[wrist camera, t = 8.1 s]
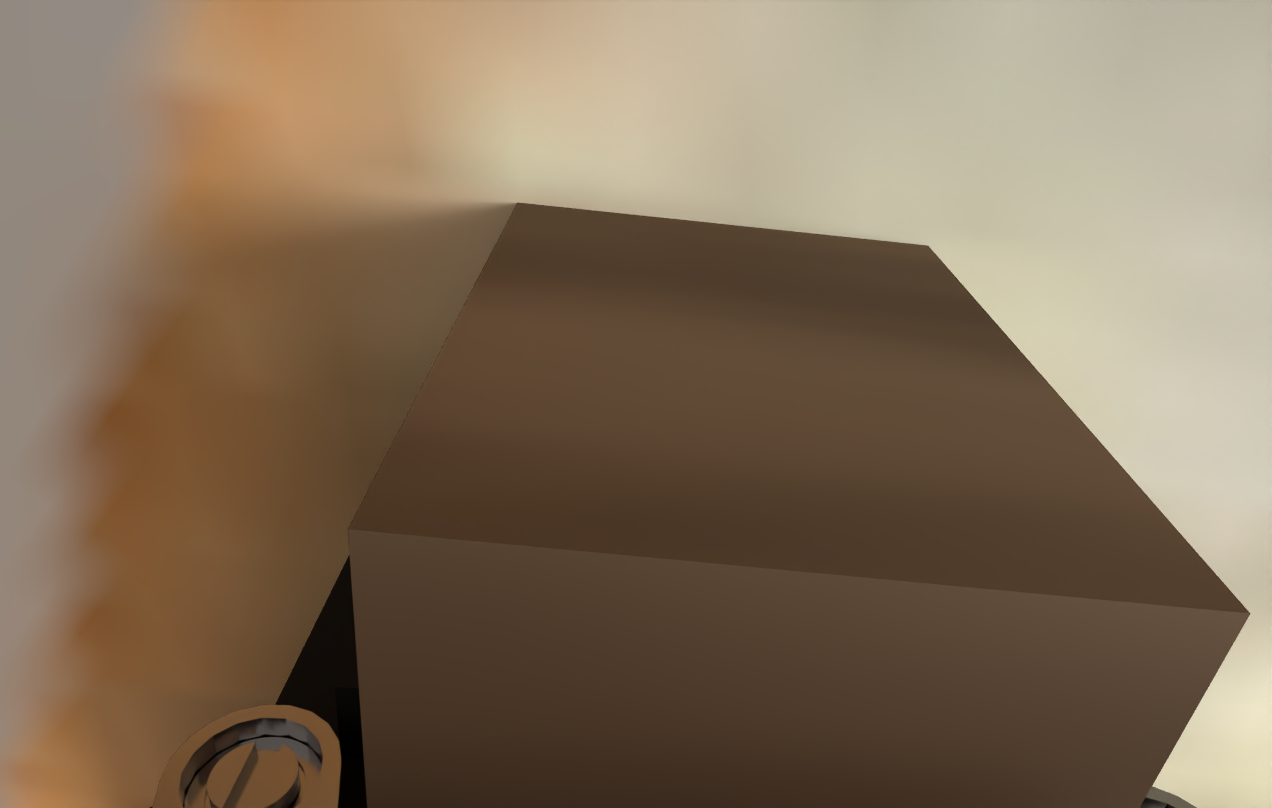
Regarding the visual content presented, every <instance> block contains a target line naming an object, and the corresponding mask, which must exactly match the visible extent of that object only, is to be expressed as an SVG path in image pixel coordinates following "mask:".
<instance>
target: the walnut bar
mask: <svg viewBox="0 0 1272 808" xmlns="http://www.w3.org/2000/svg"><path fill="white" fill-rule="evenodd" d="M348 538H349V552H350V567H351V581H352V595H353V610H354V624H355V639H356V653H357V667H358V682H359V696H360V710H361V725H362V739H363V754H364V768H365V782H366V797H367V808H1140V806H1141V804H1142V803H1143V801H1144V799H1145V797H1146V796H1147V794H1148V792H1149V790H1150V789H1151V787H1152V785H1153V783H1154V782H1155V780H1156V778H1157V776H1158V775H1159V773H1160V771H1161V769H1162V768H1163V766H1164V764H1165V762H1166V760H1167V759H1168V757H1169V755H1170V753H1171V752H1172V750H1173V748H1174V746H1175V745H1176V743H1177V741H1178V739H1179V738H1180V736H1181V734H1182V732H1183V731H1184V729H1185V727H1186V725H1187V724H1188V722H1189V720H1190V718H1191V717H1192V715H1193V713H1194V711H1195V710H1196V708H1197V706H1198V704H1199V703H1200V701H1201V699H1202V697H1203V696H1204V694H1205V692H1206V690H1207V689H1208V687H1209V685H1210V683H1211V682H1212V680H1213V678H1214V676H1215V675H1216V673H1217V671H1218V669H1219V668H1220V666H1221V664H1222V662H1223V661H1224V659H1225V657H1226V655H1227V654H1228V652H1229V650H1230V648H1231V647H1232V645H1233V643H1234V641H1235V640H1236V638H1237V636H1238V634H1239V633H1240V631H1241V629H1242V627H1243V626H1244V624H1245V622H1246V620H1247V619H1248V617H1249V615H1250V613H1249V612H1248V610H1247V609H1246V608H1245V607H1244V606H1243V605H1242V604H1241V602H1240V601H1239V600H1238V599H1237V598H1236V597H1235V596H1234V594H1233V593H1232V592H1231V591H1230V590H1229V589H1228V588H1227V586H1226V585H1225V584H1224V583H1223V582H1222V581H1221V580H1220V578H1219V577H1218V576H1217V575H1216V574H1215V573H1214V572H1213V570H1212V569H1211V568H1210V567H1209V566H1208V565H1207V564H1206V562H1205V561H1204V560H1203V559H1202V558H1201V557H1200V556H1199V554H1198V553H1197V552H1196V551H1195V550H1194V549H1193V548H1192V546H1191V545H1190V544H1189V543H1188V542H1187V541H1186V540H1185V539H1184V537H1183V536H1182V535H1181V534H1180V533H1179V532H1178V531H1177V529H1176V528H1175V527H1174V526H1173V525H1172V524H1171V523H1170V521H1169V520H1168V519H1167V518H1166V517H1165V516H1164V515H1163V513H1162V512H1161V511H1160V510H1159V509H1158V508H1157V507H1156V505H1155V504H1154V503H1153V502H1152V501H1151V500H1150V499H1149V497H1148V496H1147V495H1146V494H1145V493H1144V492H1143V491H1142V489H1141V488H1140V487H1139V486H1138V485H1137V484H1136V483H1135V481H1134V480H1133V479H1132V478H1131V477H1130V476H1129V475H1128V473H1127V472H1126V471H1125V470H1124V469H1123V468H1122V467H1121V465H1120V464H1119V463H1118V462H1117V461H1116V460H1115V459H1114V457H1113V456H1112V455H1111V454H1110V453H1109V452H1108V451H1107V449H1106V448H1105V447H1104V446H1103V445H1102V444H1101V443H1100V441H1099V440H1098V439H1097V438H1096V437H1095V436H1094V435H1093V433H1092V432H1091V431H1090V430H1089V429H1088V428H1087V427H1086V425H1085V424H1084V423H1083V422H1082V421H1081V420H1080V419H1079V417H1078V416H1077V415H1076V414H1075V413H1074V412H1073V411H1072V409H1071V408H1070V407H1069V406H1068V405H1067V404H1066V403H1065V401H1064V400H1063V399H1062V398H1061V397H1060V396H1059V395H1058V393H1057V392H1056V391H1055V390H1054V389H1053V388H1052V387H1051V385H1050V384H1049V383H1048V382H1047V381H1046V380H1045V379H1044V377H1043V376H1042V375H1041V374H1040V373H1039V372H1038V371H1037V369H1036V368H1035V367H1034V366H1033V365H1032V364H1031V363H1030V361H1029V360H1028V359H1027V358H1026V357H1025V356H1024V355H1023V353H1022V352H1021V351H1020V350H1019V349H1018V348H1017V347H1016V345H1015V344H1014V343H1013V342H1012V341H1011V340H1010V339H1009V338H1008V336H1007V335H1006V334H1005V333H1004V332H1003V331H1002V330H1001V328H1000V327H999V326H998V325H997V324H996V323H995V322H994V320H993V319H992V318H991V317H990V316H989V315H988V314H987V312H986V311H985V310H984V309H983V308H982V307H981V306H980V304H979V303H978V302H977V301H976V300H975V299H974V298H973V296H972V295H971V294H970V293H969V292H968V291H967V290H966V288H965V287H964V286H963V285H962V284H961V283H960V282H959V280H958V279H957V278H956V277H955V276H954V275H953V274H952V272H951V271H950V270H949V269H948V268H947V267H946V266H945V264H944V263H943V262H942V261H941V260H940V259H939V258H938V256H937V255H936V254H935V253H934V252H933V251H932V250H931V248H930V247H929V246H925V245H916V244H906V243H897V242H887V241H878V240H868V239H859V238H849V237H840V236H830V235H821V234H811V233H802V232H792V231H783V230H773V229H764V228H754V227H745V226H735V225H725V224H716V223H706V222H697V221H687V220H678V219H668V218H659V217H649V216H640V215H630V214H621V213H611V212H601V211H592V210H582V209H573V208H563V207H554V206H544V205H535V204H525V203H517V205H516V206H515V208H514V210H513V212H512V214H511V216H510V218H509V220H508V222H507V224H506V226H505V228H504V230H503V232H502V233H501V235H500V237H499V239H498V241H497V243H496V245H495V247H494V249H493V251H492V253H491V255H490V257H489V258H488V260H487V262H486V264H485V266H484V268H483V270H482V272H481V274H480V276H479V278H478V280H477V282H476V284H475V285H474V287H473V289H472V291H471V293H470V295H469V297H468V299H467V301H466V303H465V305H464V307H463V309H462V310H461V312H460V314H459V316H458V318H457V320H456V322H455V324H454V326H453V328H452V330H451V332H450V334H449V336H448V337H447V339H446V341H445V343H444V345H443V347H442V349H441V351H440V353H439V355H438V357H437V359H436V361H435V362H434V364H433V366H432V368H431V370H430V372H429V374H428V376H427V378H426V380H425V382H424V384H423V386H422V388H421V389H420V391H419V393H418V395H417V397H416V399H415V401H414V403H413V405H412V407H411V409H410V411H409V413H408V414H407V416H406V418H405V420H404V422H403V424H402V426H401V428H400V430H399V432H398V434H397V436H396V438H395V440H394V441H393V443H392V445H391V447H390V449H389V451H388V453H387V455H386V457H385V459H384V461H383V463H382V465H381V467H380V468H379V470H378V472H377V474H376V476H375V478H374V480H373V482H372V484H371V486H370V488H369V490H368V492H367V493H366V495H365V497H364V499H363V501H362V503H361V505H360V507H359V509H358V511H357V513H356V515H355V517H354V519H353V520H352V522H351V524H350V526H349V528H348Z"/></svg>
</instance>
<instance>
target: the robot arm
mask: <svg viewBox="0 0 1272 808" xmlns="http://www.w3.org/2000/svg"><path fill="white" fill-rule="evenodd" d="M150 808H367V797H366V782H365V768H364V754H363V739H362V725H361V710H360V696H359V682H358V667H357V653H356V639H355V624H354V610H353V595H352V581H351V567H350V555H349V557H348V559H347V561H346V563H345V565H344V567H343V569H342V571H341V573H340V575H339V577H338V579H337V581H336V583H335V585H334V587H333V589H332V591H331V593H330V595H329V597H328V599H327V601H326V603H325V605H324V607H323V609H322V611H321V613H320V615H319V617H318V619H317V621H316V623H315V625H314V627H313V629H312V631H311V633H310V636H309V638H308V640H307V642H306V644H305V646H304V648H303V650H302V652H301V654H300V656H299V658H298V660H297V662H296V664H295V666H294V668H293V670H292V672H291V674H290V676H289V678H288V680H287V682H286V684H285V686H284V688H283V690H282V692H281V694H280V696H279V698H278V700H277V702H276V704H275V705H261V706H256V707H251V708H246V709H241V710H237V711H235V712H233V713H230V714H228V715H226V716H223V717H221V718H219V719H216V720H214V721H212V722H210V723H209V724H208V725H206V726H205V727H203V728H202V729H201V730H199V731H198V732H196V733H195V734H193V735H192V736H191V737H189V738H188V739H187V740H186V741H185V743H184V744H183V745H182V746H181V747H180V748H179V749H178V750H177V752H176V753H175V754H174V755H173V756H172V757H171V758H170V761H169V763H168V765H167V767H166V769H165V771H164V773H163V775H162V777H161V779H160V782H159V785H158V789H157V793H156V796H155V800H154V803H153V806H152V807H150ZM1140 808H1196V807H1195V806H1193V805H1191V804H1190V803H1188V802H1186V801H1185V800H1183V799H1181V798H1180V797H1178V796H1176V795H1173V794H1171V793H1168V792H1165V791H1163V790H1160V789H1158V788H1155V787H1151V789H1150V790H1149V792H1148V794H1147V796H1146V797H1145V799H1144V801H1143V803H1142V804H1141V806H1140Z"/></svg>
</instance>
